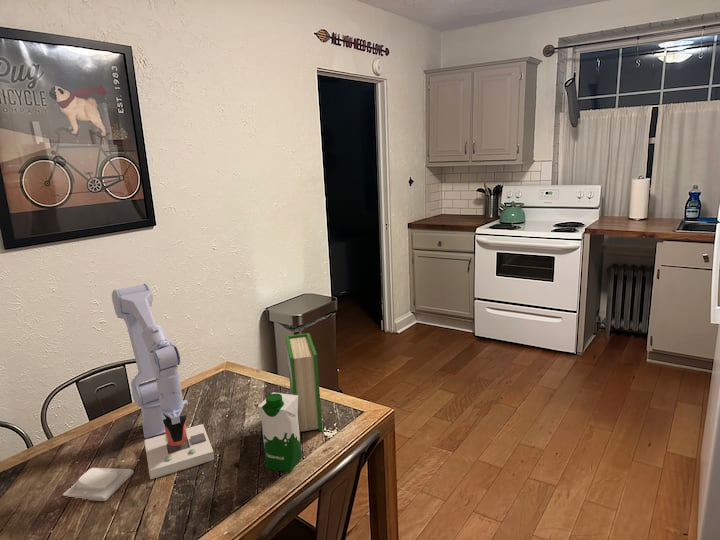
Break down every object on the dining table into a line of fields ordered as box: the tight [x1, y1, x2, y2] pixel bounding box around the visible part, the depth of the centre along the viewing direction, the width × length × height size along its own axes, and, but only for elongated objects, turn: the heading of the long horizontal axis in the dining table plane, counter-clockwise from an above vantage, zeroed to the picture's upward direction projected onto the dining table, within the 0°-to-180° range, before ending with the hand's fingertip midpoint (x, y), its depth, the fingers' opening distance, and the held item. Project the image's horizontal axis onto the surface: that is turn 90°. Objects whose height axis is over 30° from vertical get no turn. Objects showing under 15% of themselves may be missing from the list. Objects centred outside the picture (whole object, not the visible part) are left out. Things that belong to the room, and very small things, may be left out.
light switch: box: [62, 467, 135, 502], centre depth 123 cm, size 11×4×13 cm
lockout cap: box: [165, 422, 187, 446], centre depth 133 cm, size 5×5×5 cm
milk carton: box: [257, 392, 303, 474], centre depth 126 cm, size 9×9×20 cm
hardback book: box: [285, 332, 324, 436], centre depth 147 cm, size 18×7×24 cm, turn 13°
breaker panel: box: [144, 423, 215, 480], centre depth 134 cm, size 16×16×3 cm
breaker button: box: [167, 440, 189, 454], centre depth 135 cm, size 5×5×2 cm
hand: (176, 435), depth 133 cm, fingers closed on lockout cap, 5 cm apart
